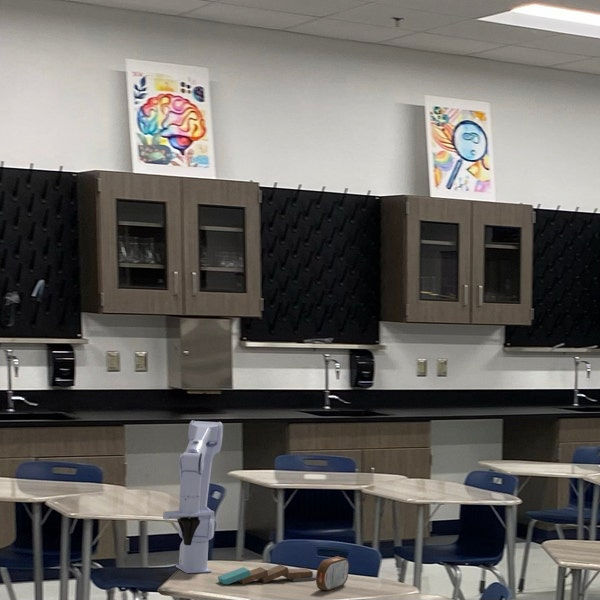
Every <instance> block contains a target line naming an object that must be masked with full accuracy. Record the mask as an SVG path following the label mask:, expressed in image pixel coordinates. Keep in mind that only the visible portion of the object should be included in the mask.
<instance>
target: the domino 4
mask: <svg viewBox="0 0 600 600" xmlns="http://www.w3.org/2000/svg"><path fill="white" fill-rule="evenodd" d="M289 580H291V581H292V582H295V583H296V582H315V581H314V580H316V574H314V573H313V577H305V578H290V579H289Z"/></svg>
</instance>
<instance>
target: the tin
mask: <svg viewBox="0 0 600 600" xmlns="http://www.w3.org/2000/svg"><path fill="white" fill-rule="evenodd" d="M349 570H350V563H349V560H348V559H347V558H345V557H341V556H340V555H339V556H338V555H337V556H334V557H330V558H329V557H328V558H326V559H323V560H322V561H321V562H320V564H319V565H318V568H317V570H316V574H315V575H316V581H315V582H316V583H315V584H316V587H317V589H319V590H323V591H327V592H328V591H332V590H334V589H339V588H342V587H343V586H344V585H345V584H346V583H347V580H348V577H349Z"/></svg>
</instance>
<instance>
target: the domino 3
mask: <svg viewBox="0 0 600 600" xmlns="http://www.w3.org/2000/svg"><path fill="white" fill-rule="evenodd" d="M288 571H289V573H287V574H285V575H283V576H282V577H283V578H286V579H288V580H290V578H305V577H313V574H314V571H313V570H311V569H308V568H307V567H304V568H303V567H302V568H290V569H289V568H288Z"/></svg>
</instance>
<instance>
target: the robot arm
mask: <svg viewBox="0 0 600 600" xmlns="http://www.w3.org/2000/svg"><path fill="white" fill-rule="evenodd" d="M187 433H188V435H187V436H188V437H187V438H188V440H189V441H188V444H187V445H186V449H185V451H183V454H182V453H180V456H179V460H178V468H179V469H178V470H179V480H180V483H179V502H178V503H179V504H178V505H179V506H178V510H169V511H163V512H162V513H163V514H162V519H163V520H165V521H168V520H176V521H177V523H178V535H179V537H180V538H182V541H181V543H180V545H179V560H178V564H177V565H175V567H176V568H177V569H179V570H181V571H182V572H184V573H185V574H197V573H199V574H200V573H201V574H202V573H212V572H213V570H212V569H210V568H208V560H209V559H208V557H209V556H208V555H209V554H208V553H209V541H210V540H212V539H213V538H214V535H215V523H216V522H215V521H216V519H215V518H216V517H215V511H214V510H211V509H210V508H209V507H208V498H209V491H210V490H209V489H210V482H211V472H212V464H213V459H214V458H215V455H216V454H218V453H220V452H221V449H222V445H223V437H224V424H223V423H222V422H221V421H217V422H216V421H200V420H197V421H196V420H191V421H190V422H189V425H188V431H187Z"/></svg>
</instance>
